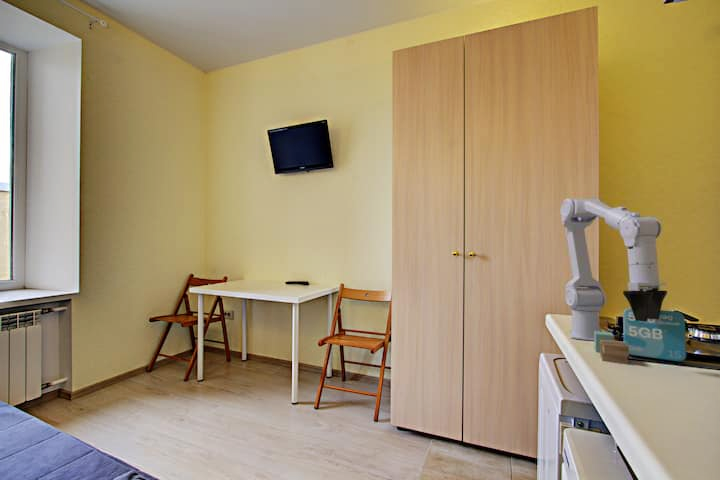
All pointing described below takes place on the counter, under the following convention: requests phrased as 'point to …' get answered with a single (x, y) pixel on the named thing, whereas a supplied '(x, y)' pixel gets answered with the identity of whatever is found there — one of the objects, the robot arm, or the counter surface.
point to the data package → (656, 335)
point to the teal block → (601, 338)
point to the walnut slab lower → (613, 358)
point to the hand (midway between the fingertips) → (647, 320)
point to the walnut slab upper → (614, 347)
